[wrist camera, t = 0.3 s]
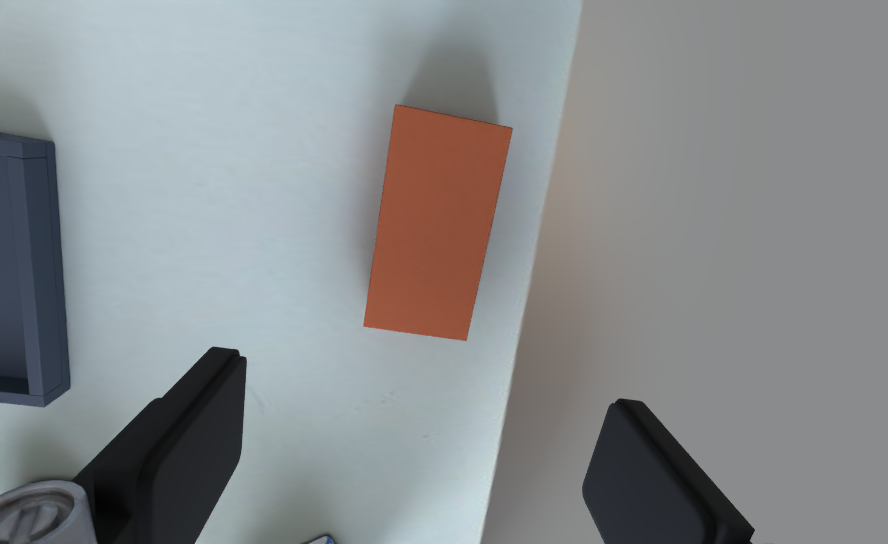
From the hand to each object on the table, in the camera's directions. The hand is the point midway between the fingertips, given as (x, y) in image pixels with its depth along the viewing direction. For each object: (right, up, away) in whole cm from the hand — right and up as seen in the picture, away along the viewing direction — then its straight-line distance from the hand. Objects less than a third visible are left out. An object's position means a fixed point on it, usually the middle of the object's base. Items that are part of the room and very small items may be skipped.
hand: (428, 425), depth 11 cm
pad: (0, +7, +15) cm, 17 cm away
